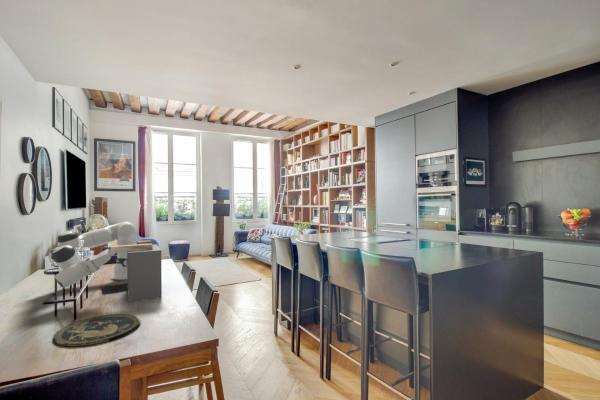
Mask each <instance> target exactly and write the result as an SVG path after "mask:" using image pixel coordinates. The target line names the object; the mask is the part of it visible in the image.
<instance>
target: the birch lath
mask: <svg viewBox="0 0 600 400" xmlns="http://www.w3.org/2000/svg"><path fill="white" fill-rule="evenodd" d="M153 245H154V244H153V242H152V243H151V244H137V243H135V245H121V246H117V245H112V246H111V245H110V249H111V251H113V250H115V249H118V250H119V252H128V251H141V250H153Z"/></svg>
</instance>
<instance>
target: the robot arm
mask: <svg viewBox="0 0 600 400" xmlns="http://www.w3.org/2000/svg"><path fill="white" fill-rule="evenodd" d="M136 236H137V229H136V226H135V225H134V224H133V223H132V222H130V221H125V220H124V221H122V222H117V223H114V224H111V225H108V226H105V227H101V228H97V229H94V230H90V231H87V232H84V233H82V234H80V233H78V232H77V231H73V230H69V231H64V232H62V233H60V234H59V235H58V236H57V243H58V245H57V246H55V247H53V248H52V249H51V250H50V252H49V253H48V261H49V263H50V264H51V265H52V266H53V263H54V262H56V263H57V265H58V266H59V267H60V268H59V269H61V271H59V272H58V273H56V274H55V275H54V280H55V281H56V283H57V284H58V285H59V286H60V287H62V288H64V289H65V288H67V287H69V286H72V285H75V284H76V283H78V282H80V281H82V280H83V279H84V278H85V277H87V276H90V275H92V274H94V273H95V272H97V271H98V270H100V268H101V267H102V266H103V265H105V264H106V263H108V262H109V261H110V260H111V257H113V256H115V254H116V264H115V266H114V267H113V275H112V276H111V277H110V279H111V280H127V252H119V250H118V249H115V250H113V251H111V248H110V249H109V248H107V249H105V250H102V251H101V252H100V253H98V254H96V255H95V254H94V255H91V254H89V255H87V256H86V257H85V258H83V259H82V258H81V257H80V256H79V255H78V253H77V252H76V251H75V249H74V247H77V246H78V245H79V241H80V240H84V244H83V246H84V247H88V248H89V249H93V248H98V247H100V246H103V245H107V244H109V243H110V244H111V243H113V242H115V241H116V242H117V245H116V246H121V245H136V242H137V240H136Z"/></svg>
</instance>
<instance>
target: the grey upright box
mask: <svg viewBox="0 0 600 400" xmlns="http://www.w3.org/2000/svg"><path fill="white" fill-rule="evenodd" d="M126 281H127V282H126V283H127V290H128V291H127V292H128V295H127V297H128V298H127V299H128V301H127V302H128V303H132V302H133V303H134V302H140V301H146V300H152V299H159V298H160V299H161V298H163V297H162V294H163V293H162V289H163V288H162V286H163V285H162V249H161V248H160V247H159V245H158V244H153V250H141V251H128V252H127V279H126Z"/></svg>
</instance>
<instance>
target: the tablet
mask: <svg viewBox="0 0 600 400" xmlns="http://www.w3.org/2000/svg"><path fill="white" fill-rule="evenodd" d="M101 288H102V289H101ZM100 291H101V295H102V296H104V295H111V294H116V293H117V294H119V293H124V292H128V290H127V282H126V283H121V284H113V285H107V286H101V287H100Z"/></svg>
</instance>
